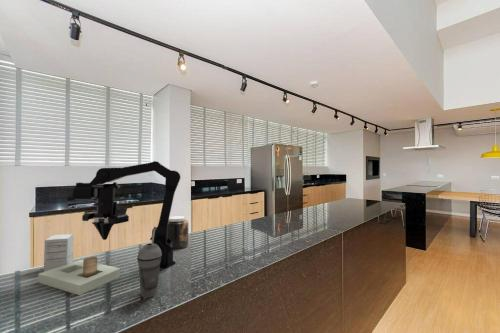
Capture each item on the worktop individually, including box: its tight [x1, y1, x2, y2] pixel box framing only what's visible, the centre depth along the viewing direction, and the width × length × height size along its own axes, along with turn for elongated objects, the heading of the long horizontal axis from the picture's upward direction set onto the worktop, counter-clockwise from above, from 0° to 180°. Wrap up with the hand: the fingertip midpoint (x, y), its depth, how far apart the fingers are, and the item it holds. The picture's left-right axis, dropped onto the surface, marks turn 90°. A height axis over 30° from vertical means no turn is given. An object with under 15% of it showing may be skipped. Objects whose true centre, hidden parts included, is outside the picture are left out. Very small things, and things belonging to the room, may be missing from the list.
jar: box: [168, 215, 189, 251], centre depth 120 cm, size 12×12×15 cm
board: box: [37, 259, 121, 296], centre depth 81 cm, size 22×14×3 cm, turn 68°
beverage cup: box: [136, 229, 162, 298], centre depth 72 cm, size 7×7×20 cm
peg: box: [82, 256, 98, 278], centre depth 80 cm, size 4×4×8 cm
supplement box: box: [43, 233, 75, 272], centre depth 91 cm, size 7×7×13 cm
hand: (104, 239), depth 90 cm, fingers closed
